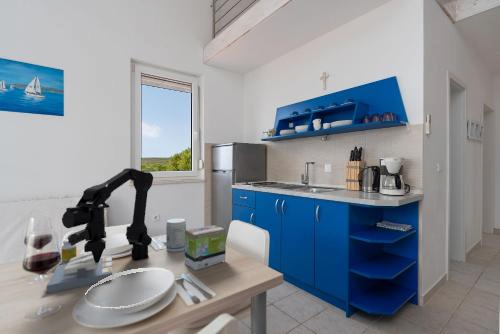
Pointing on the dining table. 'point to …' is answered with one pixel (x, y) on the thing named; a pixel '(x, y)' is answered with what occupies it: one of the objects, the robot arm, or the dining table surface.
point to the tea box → (205, 246)
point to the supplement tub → (175, 235)
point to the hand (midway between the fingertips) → (96, 262)
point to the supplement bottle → (67, 252)
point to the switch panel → (79, 276)
